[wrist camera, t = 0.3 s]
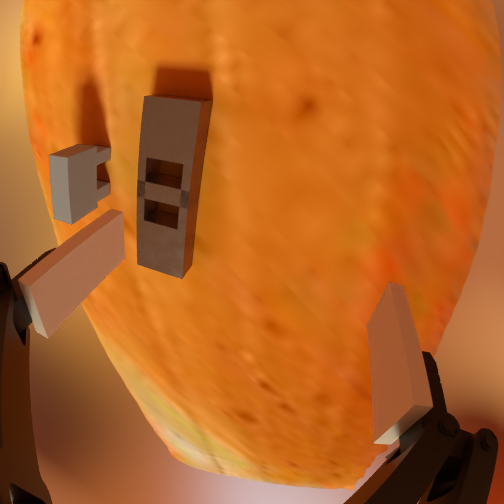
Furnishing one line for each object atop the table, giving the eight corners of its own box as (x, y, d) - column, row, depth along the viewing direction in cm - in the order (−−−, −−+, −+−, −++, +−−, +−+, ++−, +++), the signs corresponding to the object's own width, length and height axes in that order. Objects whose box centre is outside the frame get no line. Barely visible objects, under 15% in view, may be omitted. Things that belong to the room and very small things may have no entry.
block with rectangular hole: (159, 94, 37) (144, 95, 33) (212, 100, 36) (201, 102, 32) (149, 252, 50) (137, 264, 47) (191, 265, 49) (182, 278, 46)
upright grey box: (92, 139, 42) (49, 154, 33) (110, 141, 41) (67, 157, 33) (92, 195, 47) (54, 218, 39) (109, 199, 47) (71, 224, 38)
